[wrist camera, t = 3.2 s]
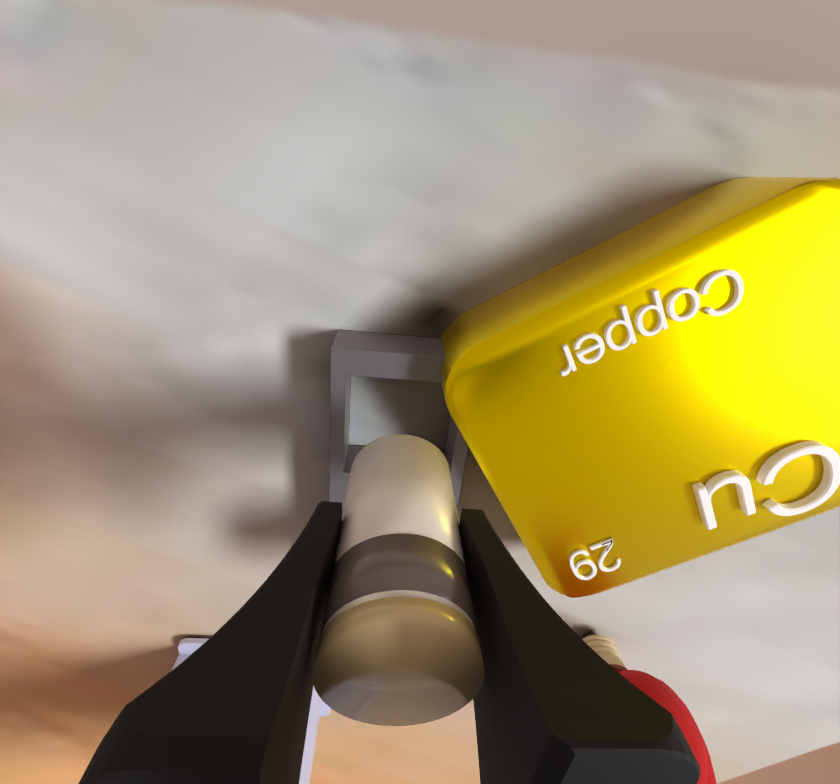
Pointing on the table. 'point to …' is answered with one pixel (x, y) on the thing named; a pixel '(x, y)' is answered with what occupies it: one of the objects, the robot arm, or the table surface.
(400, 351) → the fuse block
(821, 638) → the table surface
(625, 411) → the element tile
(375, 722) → the fuse
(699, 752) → the light bulb
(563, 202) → the table surface
